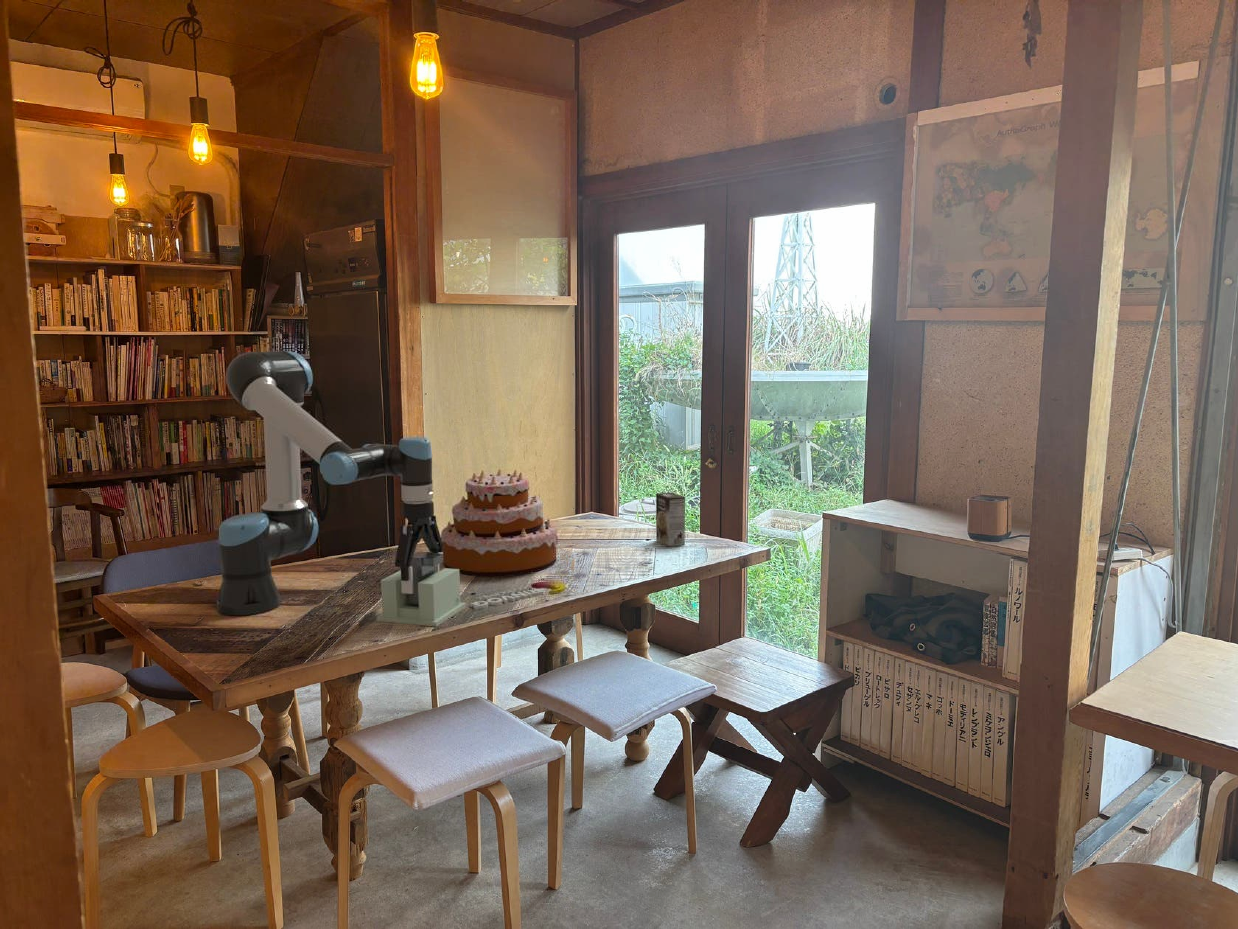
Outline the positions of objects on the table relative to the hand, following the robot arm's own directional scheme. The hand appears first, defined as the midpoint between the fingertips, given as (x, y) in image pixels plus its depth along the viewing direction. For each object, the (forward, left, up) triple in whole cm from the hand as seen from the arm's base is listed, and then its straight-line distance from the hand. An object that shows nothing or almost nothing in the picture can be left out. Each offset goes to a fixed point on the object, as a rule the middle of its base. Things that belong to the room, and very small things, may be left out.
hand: (421, 585), depth 223 cm
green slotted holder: (0, 0, -7) cm, 7 cm away
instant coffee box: (+43, +89, -7) cm, 99 cm away
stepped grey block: (+1, 0, -6) cm, 6 cm away
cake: (-2, +52, -8) cm, 53 cm away
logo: (+17, +20, -8) cm, 27 cm away
